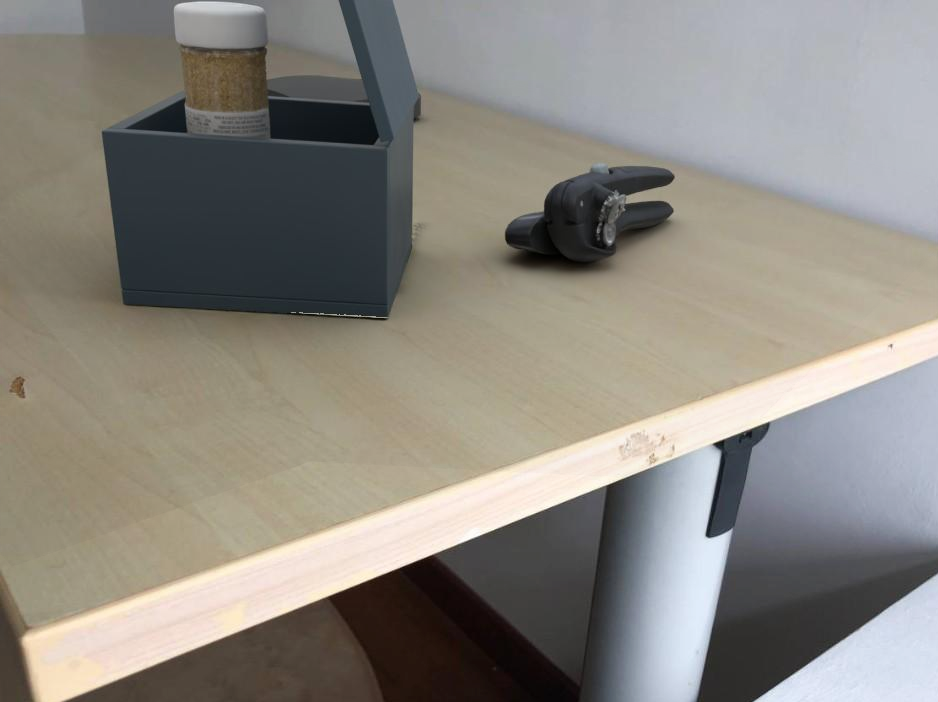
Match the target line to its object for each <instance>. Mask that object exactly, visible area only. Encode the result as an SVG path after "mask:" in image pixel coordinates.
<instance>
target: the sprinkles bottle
mask: <svg viewBox="0 0 938 702" xmlns="http://www.w3.org/2000/svg"><path fill="white" fill-rule="evenodd" d="M173 21H174V33H175V35H174V36H175V41H176V42H177V43H178V44H179V46H178V50H179V52H180V57H181V68H182V78H183V87H184V90H185V98H186V102H185V113H186V124H187V133H192V134H208V135H223V136H238V137H253V138H269V139H271V134H270V116H269V102H268V90H267V80H268V79H267V71H266V70H267V66H266V64H267V61H266V56H267V54H268V48H266V46H268V44H269V33H268V19H267V13H266V10H265V9H264V8H263V7H261V6H259V5H253V4H247V3H240V2H229V1H206V0H205V1H191V2H181V3H178V4H176V5H174V7H173Z"/></svg>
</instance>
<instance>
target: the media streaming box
mask: <svg viewBox="0 0 938 702" xmlns="http://www.w3.org/2000/svg"><path fill="white" fill-rule="evenodd" d="M267 90H268V96H275V97H290V98H305V99H320V100H334V101H349V102H364V103H369V101H368V98H367V94H366V91H365V88H364V84H363V81H362V78H351V77H350V78H349V77H338V76H330V75H317V74H316V75H315V74H313V75H312V74H303V75H302V74H301V75H298V74H297V75H286V76H279V77H274V78H273V77H272V78H269V79H267ZM418 94H419V98H418V100H417V101H416V103H415V105H414V106H413V107H414V119H415V118H418V117H421V115H422V95H421V94H420V92H418Z"/></svg>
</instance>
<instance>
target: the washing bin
mask: <svg viewBox="0 0 938 702" xmlns="http://www.w3.org/2000/svg"><path fill="white" fill-rule="evenodd" d="M185 102H186V98H185V89H184V90H182V91H179V92H177V93H175V94H173V95H171V96H169V97H167V98H165V99H163V100H161V101H159V102H157V103H155V104H153V105H151V106H149V107H147V108H145V109H143V110H141V111H139V112H137V113H135V114H133V115H131V116H128V117H126V118H124V119H122V120H120V121H118V122H116V123H114V124H113V125H110V126H108V127H107V128H105V129H103V130H101V138H102V146H103V153H104V154H103V155H104V162H105V169H106V177H107V185H108V193H109V202H110V208H111V209H110V210H111V217H112V226H113V233H114V241H115V249H116V257H117V265H118V272H119V273H118V274H119V281H120V289H121V298H122V304H123V305H135V306H149V307H150V306H151V307H152V306H154V307H166V308H167V307H168V308H184V309H203V310H220V311H235V310H236V311H239V312H254V311H256V313H270V312H280V313H279V314H287V313H291V312H296V313H299V312H303V313H319V314H320V313H324V314H337V315H339V314H340V315H344V314H346V315H358V316H359V315H361V316H376V317H388V318H389V316H390V313H391V310H392V307H393V305H394V301H395V298H396V296H395V295H397V292H398V290H399V287H400V283H401V281H402V277H403V275H404V272H405V269H406V266H407V263H408V260H409V258H410V255H411V251H412V249H413V209H414V208H413V205H414V204H413V203H414V202H413V199H414V192H413V191H414V119H415V118H414V107H413V108H412V110H411V111H410V113H409V115H408V117H407V118H406V120H405V122H404V123H403V125H402V127H401V128H400V130H399V132H398V133H397V135H396V137H395V138H394V139H393V140H389V141H384V142H381V141H380V138H379V135H378V131H377V128H376V125H375V121H374V118H373V115H372V111H371V108H370V105H369V103H364V102H349V101H334V100H320V99H305V98H290V97H275V96H268V102H269V116H270V134H271V139H269V138H253V137H238V136H223V135H208V134H192V133H187V124H186V113H185ZM390 309H391V310H390ZM389 312H390V313H389ZM254 313H255V312H254ZM388 315H389V316H388Z"/></svg>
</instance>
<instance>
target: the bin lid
mask: <svg viewBox="0 0 938 702" xmlns="http://www.w3.org/2000/svg"><path fill="white" fill-rule="evenodd" d="M338 3H339V7H340V11H341V14H342V17H343V19H344V20H343V21H344V23H345V27H346V30H347V34H348V36H349V41H350V44H351V47H352V51H353V54H354V57H355V60H356V65H357V67H358V71H359V74H360V77H361V78H360V79H362V81H363V84H364V88H365V91H366V94H367V98H368V101H369V105H370V108H371V111H372V115H373V118H374V121H375V125H376V128H377V131H378V135H379V138H380V141H381V142H384V141H389V140H393V139H394V138H395V137H396V135H397V133H398V132H399V130H400V128H401V127H402V125H403V123H404V122H405V120H406V118H407V117H408V115H409V113H410V111H411V110H412V108H413V106H414V105H415V103H416V101H417V100H418V98H419V94H420V93H419V91H418V86H417V84H416V79H415V76H414V72H413V69H412V66H411V61H410V58H409V53H408V50H407V47H406V43H405V40H404V35H403V32H402V28H401V26H400V25H401V24H400V22H399V18H398V15H397V10H396V7H395V3H394V0H338ZM418 93H419V94H418Z"/></svg>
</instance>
